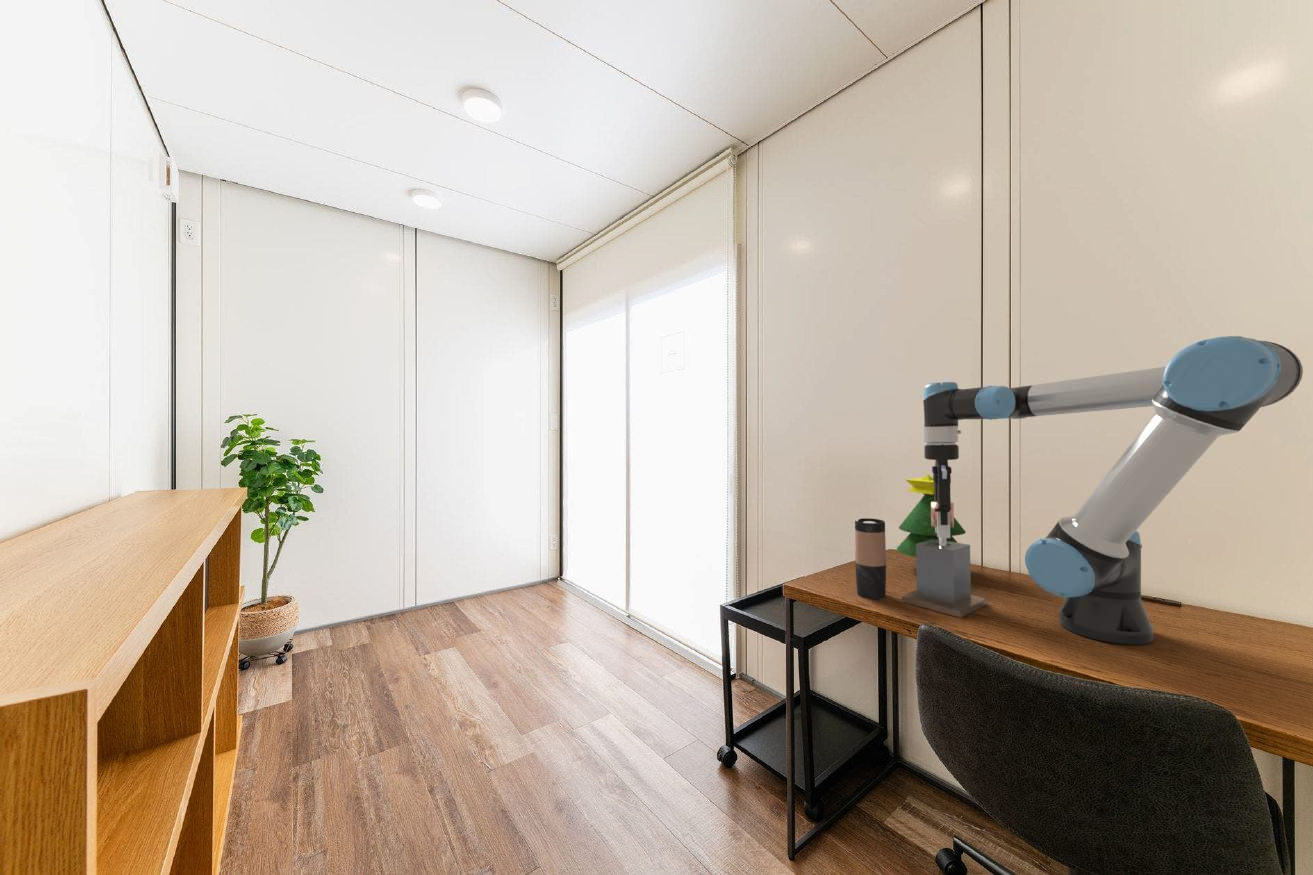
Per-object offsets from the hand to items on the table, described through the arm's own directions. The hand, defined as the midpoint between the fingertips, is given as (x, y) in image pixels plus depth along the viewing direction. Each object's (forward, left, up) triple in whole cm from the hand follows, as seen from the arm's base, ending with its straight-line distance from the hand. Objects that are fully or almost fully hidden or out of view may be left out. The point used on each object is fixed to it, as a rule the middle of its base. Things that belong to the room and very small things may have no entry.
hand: (942, 534), depth 125 cm
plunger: (0, 0, -13) cm, 13 cm away
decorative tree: (+15, -25, -18) cm, 34 cm away
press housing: (0, 0, -17) cm, 17 cm away
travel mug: (+15, +8, -18) cm, 25 cm away
